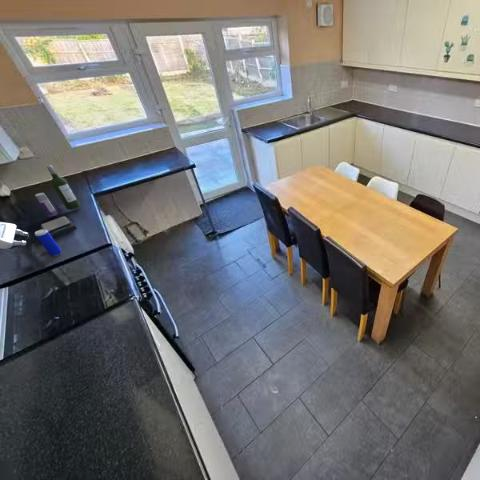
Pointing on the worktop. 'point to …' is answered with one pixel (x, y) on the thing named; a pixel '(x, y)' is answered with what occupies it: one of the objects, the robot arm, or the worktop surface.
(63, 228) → the scale
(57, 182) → the wine bottle
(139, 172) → the worktop surface
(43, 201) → the container
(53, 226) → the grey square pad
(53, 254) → the beverage can
